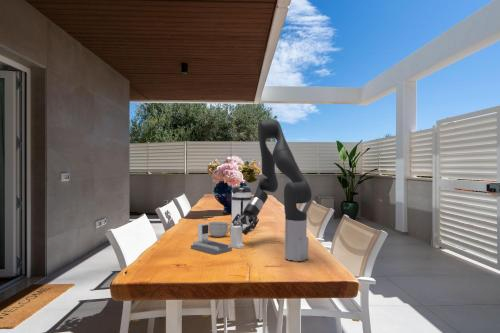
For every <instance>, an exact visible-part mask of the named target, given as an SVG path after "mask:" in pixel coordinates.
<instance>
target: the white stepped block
mask: <svg viewBox="0 0 500 333" xmlns="http://www.w3.org/2000/svg"><path fill="white" fill-rule="evenodd" d="M229 228H230V229H229V230H230V231H229V232H230V234H229V235H230V241H229V242H230V243H229V245H230V247H232V249H233V248H235V249H239V250H240V249H243V248H245V244H244V243H243V233H242V227H241V226H230V227H229Z"/></svg>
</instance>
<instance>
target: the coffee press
mask: <svg viewBox="0 0 500 333" xmlns="http://www.w3.org/2000/svg"><path fill="white" fill-rule="evenodd" d="M239 185H240V186H239ZM239 185H237V186H233V187H232V189H231V191H230V192H231V198H230V200H231V202H230V203H231V206H230V207H231V208H230V209H231V210H230V212H231V224H232V225H234V224H233V223H232V221H233V220H234V218H235V217H236V215H237V214H239V215H242V214H243V211H244V209H245V207H246V206H247V204H248V203H249V201H250V200H251V199H252V197H253V196H254V195H253V196H252V193H253V190H252V188H251V187H250V186H245V185H244V182H243V181H241V182H240V183H239ZM235 222H236V220H235ZM240 222H241V220H240ZM237 224H238V223H237ZM239 226H241V227H242V234H243V231H244V230H245V228H246V227H248V226H247V225H246V224H242V225H239ZM228 230H230V227H229V228H228ZM249 231H251V232H253V231H254V229H253V228H252V229H250V230H249Z"/></svg>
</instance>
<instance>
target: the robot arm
mask: <svg viewBox="0 0 500 333" xmlns="http://www.w3.org/2000/svg"><path fill="white" fill-rule="evenodd" d="M257 134H258V135H257V136H258V144H259V148H260V150H259V151H260V156H261V174H262V175H263V177H262V178H260V179H259V181H258V184H257V187H256V190H255V192H254V194H253V197H252V199H251V200H250V201H249V203H248V204H247V206H246V207H245V209H244V211H243V214H242V215H239V214H237V215H236V217H235V218H234V220H233V221H232V220H231V224H232V223H233V224H234V225H233V226H239V225H242V224H246V225H247V226H248V227H246V228H245V230H243V233H242V235H244V236H247V235H248V234H249V232H250V231H251V230H254V229H255V228H256V227H257V225H258V223H259V221H260V218H258V215H259V214H260V212H261V211H262V209H263V206H264V205H265V203H266V202H267V201H268V197H269V196H268V193H275V192H277V190H278V187H279V183H278V179H277V175H276V171H275V170H276V169H275V168H277V170H279V171H280V173H282V174H283V175H284V176H286V177H287V178H288V179H289V180H290V181H291V182H287V183H286V184H285V186H284V189H283V201H284V202H283V205H284V214H285V215H284V216H285V218H284V219H285V223H284V224H285V225H284V226H285V227H284V229H285V230H284V232H285V233H284V259H285V258H286V259H288V260H287V261H289V260H293V261H292V262H298V261H302V262H304V261H306V260H305V259H307V260H309V237H308V236H307V234H308V232H307V229H308V228H307V227H308V225H307V223H308V219H307V218H308V215H307V214H308V213H307V212H304V211H303V210H300V209H298V208H297V205H298V204H307V203H309V202H310V201H311V200H312V197H313V196H312V195H313V194H312V189H311V186H310V185H309V183H308V181H307V179H306V177H305V176H304V174H303V173H302V171H301V170H300V168H299V166H298V163H297V161H296V159H295V157H294V155H293V152H292V150H291V149H290V146H289V145H288V143H287V140H286V138H285V135H284V132H283V129H282V126H281V123H280V122H279V121H278V120H277V119H271V120H270V119H269V120H268V119H267V120H261V121H259V122H258V125H257ZM267 139H275V140H276V144H275V145H274V148H273V151H272V152H271V151H270V149H269V147H268V146H267ZM267 192H268V193H267ZM235 220H236V222H235ZM240 220H241V222H240ZM237 223H238V224H237ZM252 228H253V229H252ZM250 229H251V230H250ZM286 259H285V260H286ZM303 260H304V261H303Z"/></svg>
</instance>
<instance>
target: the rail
mask: <svg viewBox="0 0 500 333" xmlns="http://www.w3.org/2000/svg"><path fill="white" fill-rule="evenodd" d="M192 243H193V244H192V245H190V249H191V250H195V251H199V252H203V253H206V254H210V255H214V256H216V255H220V254H223V253H228V252H232V251H233V247H230V244H227V243H223V242H219V241H215V240H210V239H209V223H206V222H203V223H198V224H197V240H196V241H193V242H192Z"/></svg>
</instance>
